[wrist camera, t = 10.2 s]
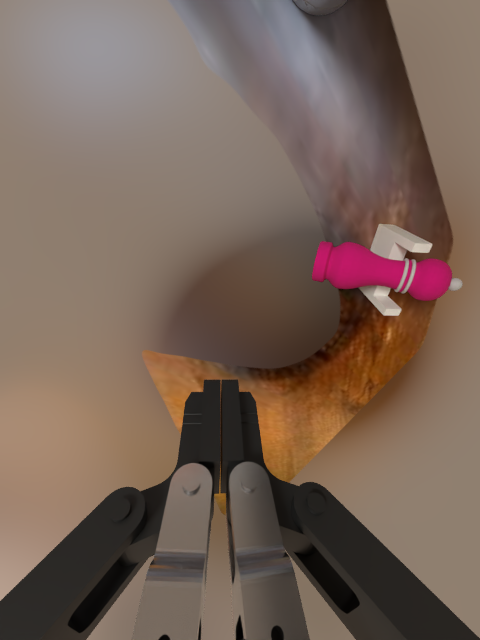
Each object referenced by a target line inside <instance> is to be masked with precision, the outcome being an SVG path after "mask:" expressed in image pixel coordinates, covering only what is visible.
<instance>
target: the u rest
mask: <svg viewBox="0 0 480 640" xmlns="http://www.w3.org/2000/svg"><path fill="white" fill-rule="evenodd" d="M432 245H433V244H432V243H430V242H428V241H426V240H424V239H422V238H420V237H418V236H416V235H414V234H412V233H410V232H408V231H406V230H404V229H402V228H400V227H398V226H396V225H392V224H379V226H378V229H377V232H376V234H375V237H374V240H373V243H372V246H371V249H370V251H372V252H373V253H375V254H377V255H379V256H381V257H384V258H388V259H392V260H401V261H403V259H404V257H405V254H406V252H407V250H409V251H410V252H422V253H429V251H430V249H431V247H432ZM358 288H359V289H360V290H361V291H362V292H363V294H364V295H365V296H366V297H367V298H368V299H369V300H370V301H371V302H372V303H373V304H374V306H375V307H376V308H377V309H378V310H379V311H380V312H381V313H382V314H383V315H391V316H399V314H400V312H401V310H402V309H401V308H400V307H399V306H398V305H397V304H396V303H395V302H394V301H393V300H391V299H390V298H389V297H388V294H389V292H390V289H391V288H389V287H385V286H377V285H373V286H363V287H358Z"/></svg>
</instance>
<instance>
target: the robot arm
mask: <svg viewBox="0 0 480 640" xmlns="http://www.w3.org/2000/svg"><path fill="white" fill-rule="evenodd" d="M293 1H294V2H295V3H296V5H297V6H298V7H299V8H300V9H302V10H303V11H305V12H306V13H308V14H311V15H315V16H321V15H327V14H330V13H333V12H334V11H336V10H337V9H339V8H340V7H342V6H343V5H344V4H345V3H346V2H347V1H348V0H293ZM220 461H221V493H226V525H227V538H228V551H229V564H230V576H231V598H232V617H233V630H234V640H310V639H309V634H308V630H307V626H306V621H305V617H304V612H303V608H302V603H301V599H300V595H299V590H298V586H297V581H296V577H295V573H294V570H293V566H292V563H291V560H290V558H289V556H288V554H289V555H290V556H291V558H292V559H293V560H294V561H295V563H296V564H297V565H298V567H299V568H300V569H301V570H302V572H303V573H304V574H305V575H306V576H307V578H308V579H309V581H310V582H311V583H312V584H313V586H314V587H315V588H316V589H317V591H318V592H319V593H320V594H321V596H322V597H323V598H324V600H325V601H326V602H327V603H328V605H329V606H330V607H331V608H332V610H333V611H334V612H335V613H336V615H337V616H338V617H339V619H340V620H341V621H342V622H343V624H344V625H345V626H346V628H347V629H348V630H349V631H350V633H351V634H352V635H353V636H354V638H355V639H356V640H480V638H479V637H477V636H476V635H475V634H474V633H473V632H472V631H471V630H470V629H469V628H468V627H467V626H466V625H465V624H464V623H463V622H462V621H461V620H460V619H459V618H458V617H457V616H456V615H455V614H454V613H453V612H452V611H451V610H450V609H449V608H448V607H447V606H446V605H445V604H444V603H443V602H442V601H441V600H439V599H438V597H437V596H435V595H434V594H433V593H432V592H431V591H430V590H429V589H428V588H427V587H426V586H425V585H424V584H423V583H422V582H421V581H420V580H419V579H418V578H417V577H416V576H415V575H414V574H413V573H412V572H411V571H410V570H409V569H408V568H407V567H406V566H405V565H404V564H403V563H402V562H401V561H400V560H399V559H398V558H397V557H396V556H395V555H393V554H392V553H391V552H390V551H389V550H388V549H387V548H386V547H385V546H384V545H383V544H382V543H381V542H380V541H379V540H378V539H377V538H376V537H375V536H374V535H373V534H372V533H371V532H370V531H369V530H368V529H367V528H366V527H365V526H364V525H363V524H362V523H361V522H360V521H358V519H356V518H355V516H353V515H352V514H351V513H350V512H349V511H348V510H347V509H346V508H345V507H344V506H343V505H342V504H341V503H340V502H339V501H338V500H337V499H336V498H335V497H334V496H333V495H332V494H331V493H330V492H329V491H328V490H327V489H326V488H324V487H323V486H321V485H320V484H317V483H314V482H306V483H303V484H301V485H300V486H296V485H293V484H290V483H288V482H285V481H282V480H279V479H278V478H276V477H275V476H273V475H272V474H271V473H270V472H269V470H268V469H267V467H266V465H265V463H264V459H263V452H262V445H261V437H260V430H259V424H258V415H257V408H256V401H255V400H254V398H253V396H252V395H251V393H250V392H239V385H238V380H222V385H221V443H220V380H204V389H203V392H191V394H190V396H189V397H188V399H187V400H186V402H185V409H184V417H183V425H182V432H181V440H180V447H179V455H178V462H177V465H176V468H175V470H174V472H173V473H172V474H171V476H170V477H169V478H168V479H166V480H165V481H164V482H162V483H161V484H158V485H156V486H154V487H151V488H148V489H146V490H143V491H139V490H137V489H136V488H133V487H124V488H120V489H118V490H116V491H114V492H112V493H111V494H110V495H109V496H107V497H106V498H105V499H104V500H103V501H102V502H101V503H100V504H99V505H98V506H97V507H96V508H95V509H94V510H93V511H92V512H91V513H90V514H89V515H88V516H87V517H86V518H85V519H84V520H83V521H82V522H81V523H80V524H79V525H78V526H77V527H76V528H75V529H74V530H73V531H72V532H71V533H70V534H69V535H68V536H66V537H65V538H64V539H63V540H62V542H60V544H58V545H57V546H56V547H55V548H54V549H53V550H52V551H51V552H50V553H49V554H48V555H47V556H46V557H45V558H44V559H43V560H42V561H41V562H40V563H39V564H38V565H37V566H36V567H35V568H34V569H33V570H32V571H31V572H30V573H29V574H28V575H27V576H26V577H25V578H24V579H22V580H21V581H20V582H19V584H17V585H16V586H15V587H14V588H13V589H12V590H11V591H10V592H9V593H8V594H7V595H6V596H5V597H4V598H3V599H2V600H1V601H0V640H86V639H87V638H88V636H89V635H90V634H91V632H92V631H93V630H94V629H95V627H96V626H97V625H98V623H99V622H100V621H101V619H102V618H103V617H104V615H105V614H106V613H107V611H108V610H109V609H110V608H111V606H112V605H113V604H114V602H115V601H116V600H117V598H118V597H119V596H120V594H121V593H122V592H123V591H124V589H125V588H126V587H127V585H128V584H129V582H130V581H131V580H132V579H133V577H134V576H135V575H136V574H137V572H138V571H139V569H140V568H141V567H142V566H143V564H144V563H145V562H146V560H147V559H148V558H149V557H151V556H153V555H155V556H154V559H153V561H152V562H151V564H150V566H149V569H148V572H147V575H146V579H145V583H144V587H143V592H142V596H141V601H140V605H139V609H138V614H137V618H136V623H135V627H134V632H133V637H132V640H202V629H203V617H204V605H205V590H206V577H207V565H208V553H209V543H210V531H211V521H212V518H213V512H214V494H217V493H219V481H220ZM284 548H285V549H284ZM285 550H286V551H287V553H288V554H287V553H286V552H285Z"/></svg>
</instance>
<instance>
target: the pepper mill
mask: <svg viewBox="0 0 480 640" xmlns="http://www.w3.org/2000/svg"><path fill="white" fill-rule="evenodd" d="M312 279H313V280H314V281H319V282H323V281H324V280H325V279H327V280H329V281H330V283H331V284H332V285H333V286H334V287H335V288H340V289H352V288H358V287H363V286H373V285H377V286H385V287H389V288H393V289H394V291H395V292H401V293H406V292H409V293H410V295H411V296H412V297H414V298H415V299H418V300H423V301H430V300H435V299H437V298H439V297H441V296H442V295H443V294H444V293H445V292H446V291H447V290H448V289H449V290H452V291H456V290H459V289H460V288H461V287H462V281H461V280H460V279H458V278H452V271H451V269H450V267H449V265H448V264H446V263H445V262H443V261H441V260H438V259H431V258H430V259H425V260H423V261H420V262H417V263H416V261H415V260H414V259H412V260H410V259H409V260H408V259H407V258H405V259H404V260H403V261H401V260H392V259H388V258H384V257H381V256H379V255H377V254H375V253H373V252H372V251H370V250H368V249H367V248H365V247H364V246H361V245H359V244H357V243H352V242H345V243H343V244H341V245H339V246H337V247H333V244H332V243H330V242H324V241H322V242H321V243H320V245H319V248H318V251H317V255H316V259H315V263H314V268H313V274H312Z"/></svg>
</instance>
